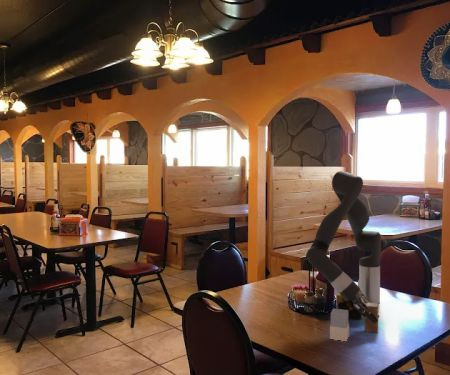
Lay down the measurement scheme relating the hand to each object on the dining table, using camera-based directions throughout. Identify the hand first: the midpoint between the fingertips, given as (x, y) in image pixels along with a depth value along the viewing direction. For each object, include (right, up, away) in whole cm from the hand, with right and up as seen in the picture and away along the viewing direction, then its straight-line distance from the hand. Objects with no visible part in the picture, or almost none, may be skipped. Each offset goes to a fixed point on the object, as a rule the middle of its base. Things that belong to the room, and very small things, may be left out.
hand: (376, 320), depth 168 cm
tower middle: (-16, 0, -6) cm, 17 cm away
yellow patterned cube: (-5, -4, +18) cm, 19 cm away
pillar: (-2, -4, +1) cm, 5 cm away
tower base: (-16, -5, -6) cm, 18 cm away
